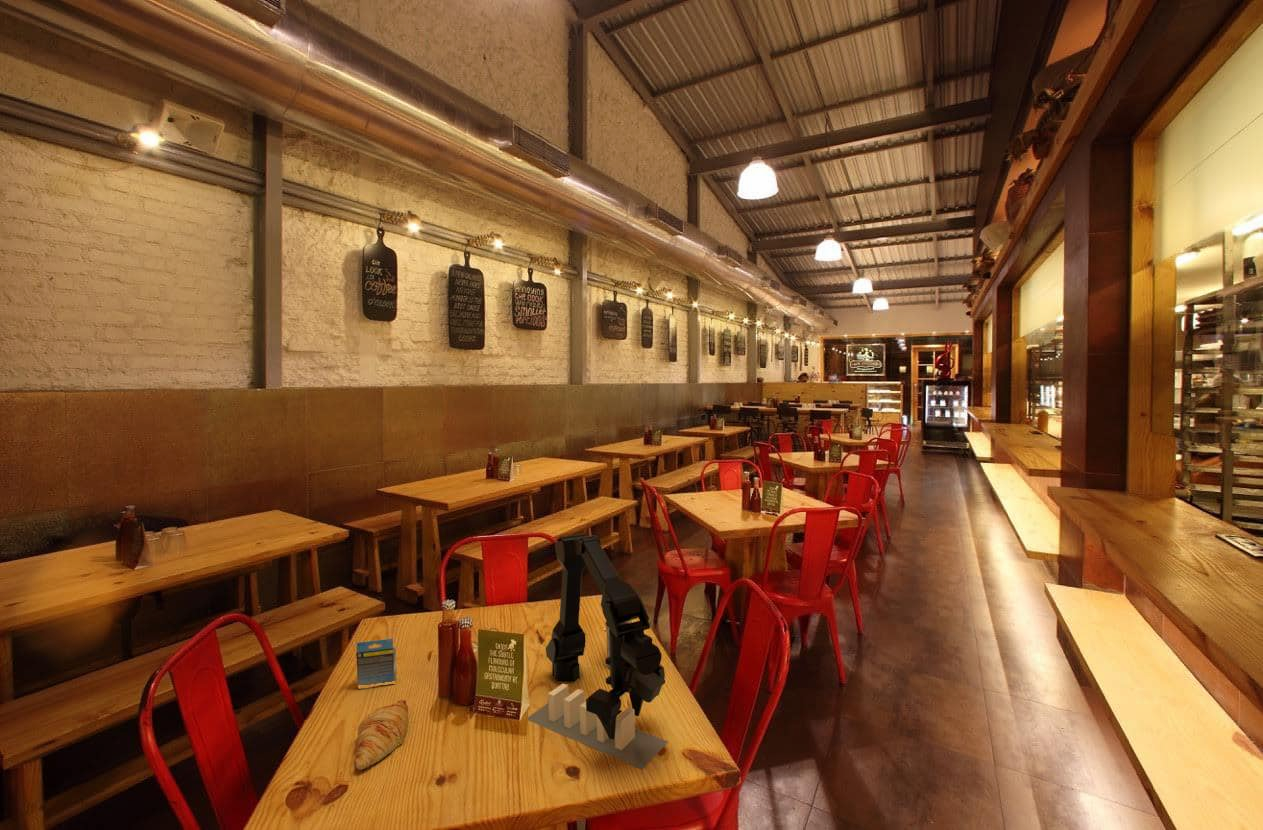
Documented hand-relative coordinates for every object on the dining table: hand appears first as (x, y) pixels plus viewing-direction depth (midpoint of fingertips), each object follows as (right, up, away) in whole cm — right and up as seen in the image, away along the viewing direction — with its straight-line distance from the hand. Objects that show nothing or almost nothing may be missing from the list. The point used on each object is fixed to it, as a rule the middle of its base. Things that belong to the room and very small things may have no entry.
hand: (624, 726), depth 113 cm
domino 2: (-11, -3, +8) cm, 14 cm away
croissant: (-52, -6, +4) cm, 52 cm away
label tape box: (-64, -5, +27) cm, 69 cm away
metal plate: (-7, -4, +5) cm, 9 cm away
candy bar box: (-2, -3, +37) cm, 37 cm away
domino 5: (0, -3, 0) cm, 3 cm away
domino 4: (-4, -3, +3) cm, 6 cm away
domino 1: (-15, -3, +10) cm, 18 cm away
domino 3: (-7, -3, +5) cm, 10 cm away
